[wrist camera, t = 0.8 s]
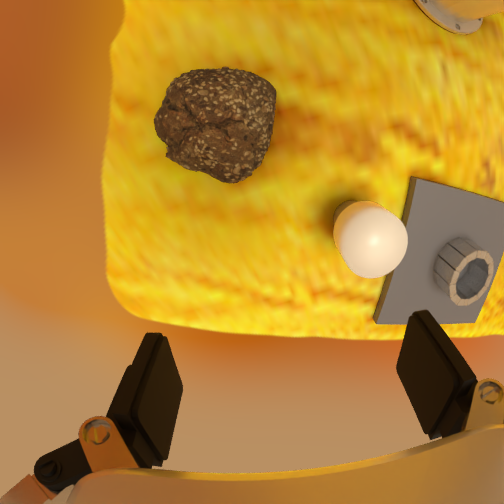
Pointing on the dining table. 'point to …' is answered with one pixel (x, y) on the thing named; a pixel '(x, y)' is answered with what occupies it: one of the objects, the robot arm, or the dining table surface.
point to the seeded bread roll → (217, 122)
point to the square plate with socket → (444, 255)
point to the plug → (369, 238)
